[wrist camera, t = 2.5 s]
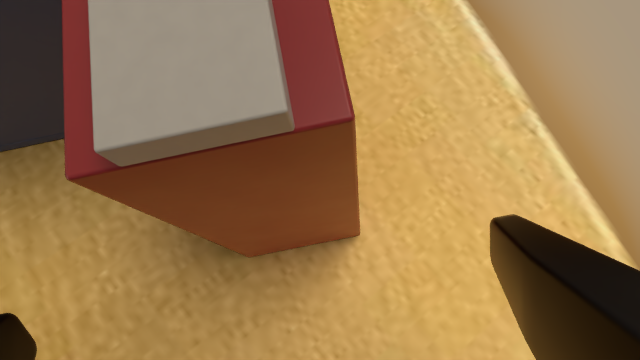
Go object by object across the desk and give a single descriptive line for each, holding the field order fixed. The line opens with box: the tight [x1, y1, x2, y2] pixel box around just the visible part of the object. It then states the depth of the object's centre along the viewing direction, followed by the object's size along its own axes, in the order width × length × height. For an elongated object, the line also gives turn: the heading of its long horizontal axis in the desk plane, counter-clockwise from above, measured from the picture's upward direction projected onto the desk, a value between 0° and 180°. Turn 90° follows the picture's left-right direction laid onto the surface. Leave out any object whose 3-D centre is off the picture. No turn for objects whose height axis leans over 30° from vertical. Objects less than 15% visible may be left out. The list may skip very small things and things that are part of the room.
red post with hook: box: [62, 0, 360, 257], centre depth 14 cm, size 8×5×13 cm, turn 11°
